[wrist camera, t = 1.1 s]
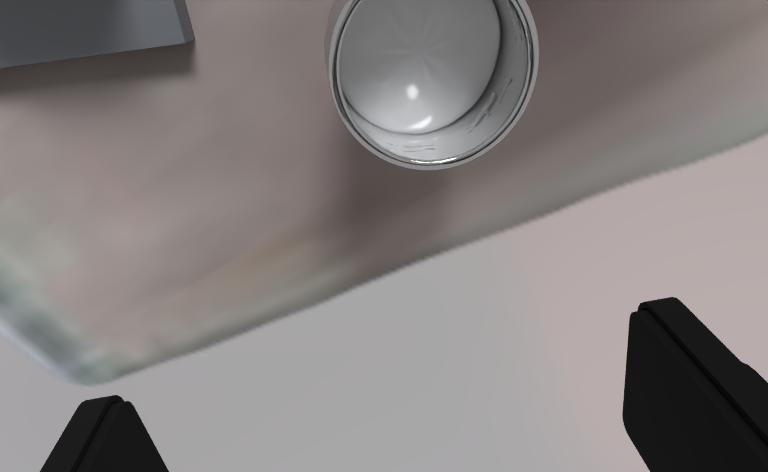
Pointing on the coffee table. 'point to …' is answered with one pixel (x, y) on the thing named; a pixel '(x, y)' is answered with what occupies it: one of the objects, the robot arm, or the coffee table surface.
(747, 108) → the coffee table surface
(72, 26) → the flat gray board
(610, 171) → the coffee table surface
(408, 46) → the beer glass
